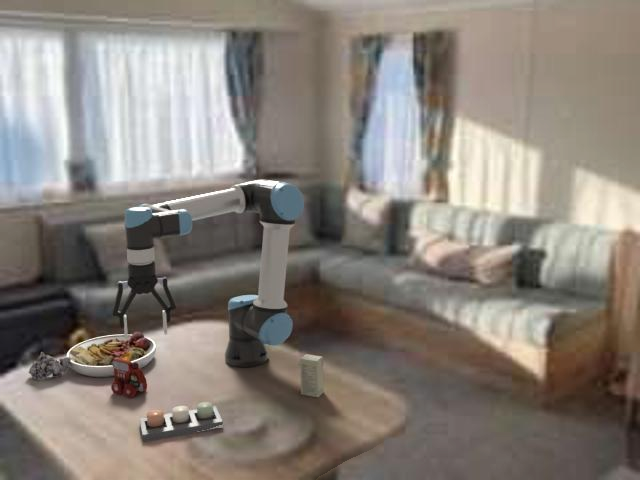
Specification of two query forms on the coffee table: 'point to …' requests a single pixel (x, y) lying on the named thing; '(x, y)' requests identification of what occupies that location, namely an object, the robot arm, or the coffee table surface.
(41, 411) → the coffee table surface
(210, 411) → the button sage
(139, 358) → the bowl
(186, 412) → the button cream
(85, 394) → the coffee table surface
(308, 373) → the skincare box
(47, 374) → the mineral specimen
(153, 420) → the button terracotta
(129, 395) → the toy fire truck
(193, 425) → the frame
